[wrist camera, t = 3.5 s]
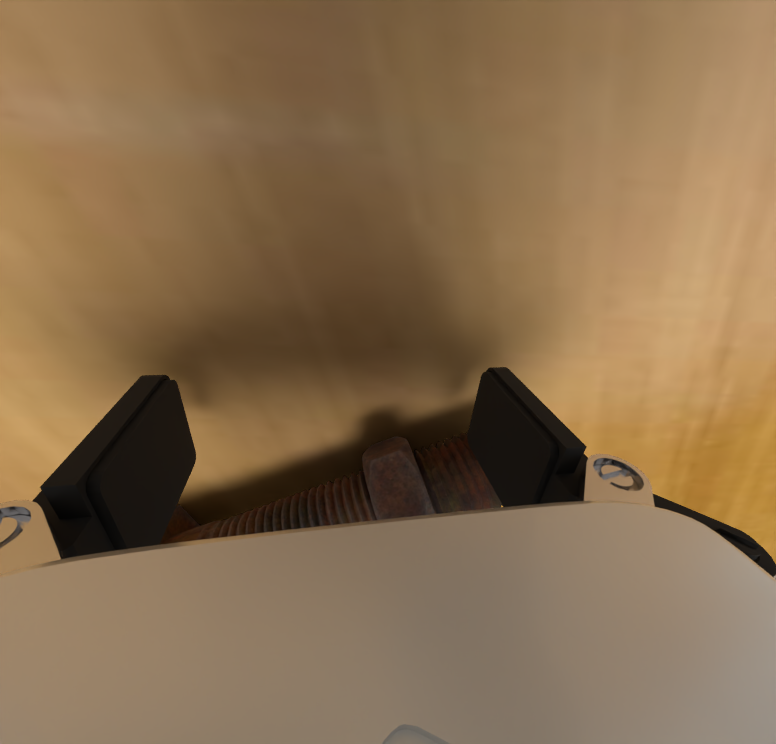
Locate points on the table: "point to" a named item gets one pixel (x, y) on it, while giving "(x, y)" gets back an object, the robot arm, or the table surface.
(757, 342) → the table surface
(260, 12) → the table surface
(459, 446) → the bolt
